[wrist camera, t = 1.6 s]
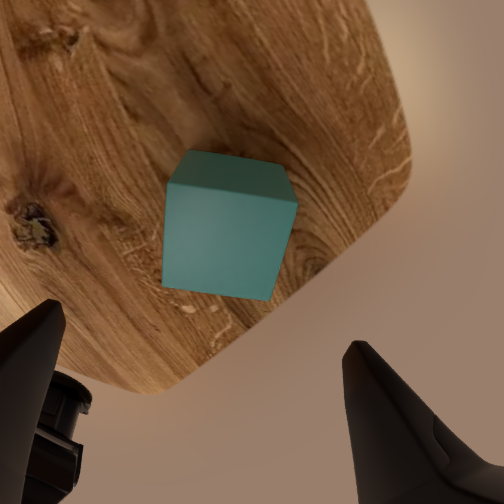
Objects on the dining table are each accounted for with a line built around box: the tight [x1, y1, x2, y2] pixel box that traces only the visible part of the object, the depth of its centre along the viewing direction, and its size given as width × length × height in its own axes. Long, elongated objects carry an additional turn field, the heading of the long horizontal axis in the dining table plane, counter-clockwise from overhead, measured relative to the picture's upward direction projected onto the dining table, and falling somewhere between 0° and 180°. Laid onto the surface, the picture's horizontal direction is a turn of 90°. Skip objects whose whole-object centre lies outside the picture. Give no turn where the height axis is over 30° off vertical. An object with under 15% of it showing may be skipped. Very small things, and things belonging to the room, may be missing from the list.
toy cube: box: [162, 150, 299, 301], centre depth 14 cm, size 5×5×5 cm
